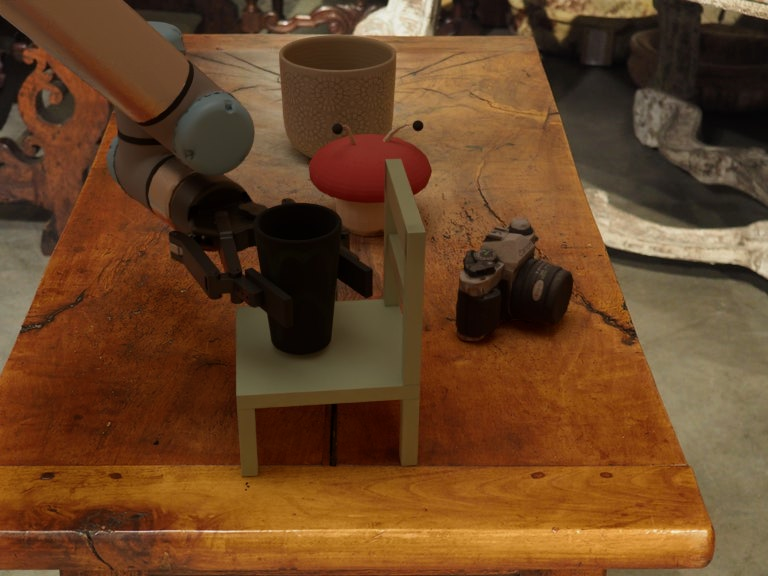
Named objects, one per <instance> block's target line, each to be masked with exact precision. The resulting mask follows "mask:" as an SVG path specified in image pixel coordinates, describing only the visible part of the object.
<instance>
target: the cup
mask: <svg viewBox="0 0 768 576" xmlns="http://www.w3.org/2000/svg"><path fill="white" fill-rule="evenodd" d="M267 208H268V209H266V210H264V211H262V212H261V213H260V214H259V215H258V216H257V217H256V218H255V220H254V222H253V227H254V234H255V240H256V246H257V247H256V246H255V247H256V252H257V258H258V265H259V270H260V271H259V273H260V274H262V275H263V276H264V277H265V278H267V279H268V280H269V281H271V282H272V283H273V284H275V285H276V286H277V287H279V288H280V289H281V290H282V291H284V292H285V293H286V294H288V295H289V296H290V297H292V307H293V326H290V327H287V328H285V327H284V326H282V325H281V324H280V323H279V322H277V321H276V320H275V319H274V318H272V317H271V316H270V315H269V314H268V313H267V317H268V323H269V329H270V336H271V342H272V344H273V345H274V346H275V347H276V348H277V349H279V350H280V351H282V352H285V353H289V354H295V355H304V354H311V353H315V352H318V351H320V350H322V349H324V348H325V347H327V346H328V345H329V343H330V341H331V338H332V328H333V317H334V306H335V302H336V296H337V294H336V293H337V283H338V279H337V274H338V263H339V252H340V242H341V231H342V219H341V217H340V216H339V214H337V212H336V210H334V209H332V208H330V207H327V206H325V205H321V204H317V203H310V202H296V203H287V204H282V203H281V204H277V205H275V206H271V207H267Z"/></svg>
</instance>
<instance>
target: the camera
mask: <svg viewBox="0 0 768 576" xmlns="http://www.w3.org/2000/svg"><path fill="white" fill-rule="evenodd" d="M539 240H540V237H539V235H538V234H536V231H535V228H534V227H533V226H532V224H531V222H530V221H529V219H528V218H526V217H514V218H512V219H511V221H510V222H509V225H508V227H507V228H505V227H502V226H494V228H492V229H491V230H490V232H488V233H487V234H486V235H485V237H484V239H483V240H482V242H481V245H480V247H479V250H475V249H468V250H467V251H466V252H465V256H463V257H464V258H463V259H462V262H463V263H462V265H463V269H462V270H461V272H460V273H459V276H458V287H457V288H458V289H457V296H456V297H457V300H456V303H455V327H456V331H455V333H456V335H457V336H458V337H459V339H460V340H462V341H465V342H466V341H467V342H477V341H482V339H484V338H485V336H486V335H488V334H492V333H494V332H496V330H497V329H498V327H499V325H500V324H502V323H503V322H511V321H517V320H519V321H528V322H534V323H539V324H548V325H551V326H556V325H559V324H560V323H561V322H562V320H563V319H564V316H565V315H566V313H567V311H568V309H569V305H570V301H571V298H572V295H573V288H574V277H573V273H572V272H571V271H570V270H568V269H564V268H563V267H562V266H559V265H555V264H552V263H549V262H547V261H545V260H543V259H537V258H535V252H536V243H537V242H538V241H539Z"/></svg>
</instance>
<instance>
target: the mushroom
mask: <svg viewBox="0 0 768 576" xmlns="http://www.w3.org/2000/svg"><path fill="white" fill-rule="evenodd" d="M408 126H409V127H410V126H412V129H413V130H414V131H415V132H421V131H423V129H424V127H425V126H424V122H423V121H421V120H419V119H418V120H417V119H416V120H414V121H413V123H412V124H411V123H403V124H401V125H398V126H395V127H394V128H392V129H391V131H390V132H389V133H388V134H387V135H378V134H358V135H353V134H352V132H351V130H350V128H349V127H348V126H346V125H343V126H342V125H341V124H339V123H336V124H334V125H333V127H332V131H333V133H334V134H337V135H339V134H341V133H342V131H343V127H345V128H346V129H347V131H348V134H349V136H346V137H343V138H340V139H337V140H334V141H332V142H330V143H329V144H327V145H325V146H324V147H322V148H321V149H319V150H318V151H317V152H316V153H315V155H314V156H313V158H310V159H311V160H310V161H309V163H308V173H309V178H310V181H311V184H312V185H313V186H314V187H315V188H316V189H317V190H318V191H319V192H320V193H322V194H324V195H327V196H329V197H330V198H334V199H335V212H336V213H337V214H339V216H340V217H341V219H342V226H343V227H345V228H347V229H349V230H350V234H353V235H357V236H362V237H380V236H384V205H385V159H401V160H402V163H403V166H404V169H405V172H406V175H407V178H408V181H409V184H410V187H411V190H412V193H413V196H415V195H418V194H419V193H420V192H422V191H423V190H424V189H425V188H426V187H427V186H428V184H429V182H430V180H431V177H432V172H433V171H432V166H431V163H430V160H429V158H428V156H427V155H426V154H425V153H424V152H423V151H422V150H421V149H419V147H417V146H416V145H414V144H413V143H411V142H408V141H406V140H404V139H401V138H399V137H395V136H394V135H395V134H396V133H398V132H399V131H401V129H403V128H405V127H408Z"/></svg>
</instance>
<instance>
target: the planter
mask: <svg viewBox="0 0 768 576" xmlns="http://www.w3.org/2000/svg"><path fill="white" fill-rule="evenodd" d="M278 63H279V64H278V65H279V79H280V91H281V104H282V105H281V107H282V120H283V127H284V131H285V134H286V137H287V138H288V141H289V142H290V144H291V145H292V146H293V147H294V148H295V149H296V150H297V151H298V152H299V153H301V154H302V155H304V156H306V157H307V158H309V159H312V158H313V156H314V155H315V153H316V152H317V151H318V150H319V149H321V148H322V147H324V146H325V145H327V144H329V143H330V142H332V141H334V140H337V139H340V138H343V137H346V136H349V134H348V131H347V129H346V128H345V127H343V131H342V133H341V134H339V135H337V134H334V133H333V131H332V127H333V125H334V124H336V123H339V124H341V125H342V126H343V125H346V126H348V127H349V128H350V130H351V132H352V134H353V135H358V134H378V135H387V134H388V133H389V132H390V131H391V130H393V122H394V113H395V112H394V111H395V110H394V109H395V93H396V78H397V77H396V76H397V51H396V50H395V48H394V47H393V46H391V45H390V44H388V43H386V42H384V41H382V40H379V39H375V38H370V37H365V36H358V35H347V34H329V35H328V34H327V35H326V34H325V35H316V36H309V37H303V38H300V39H296V40H293V41H291V42H289V43H286V44H285V45H283V46H282V47H281V48H280V50H279V53H278Z"/></svg>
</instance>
